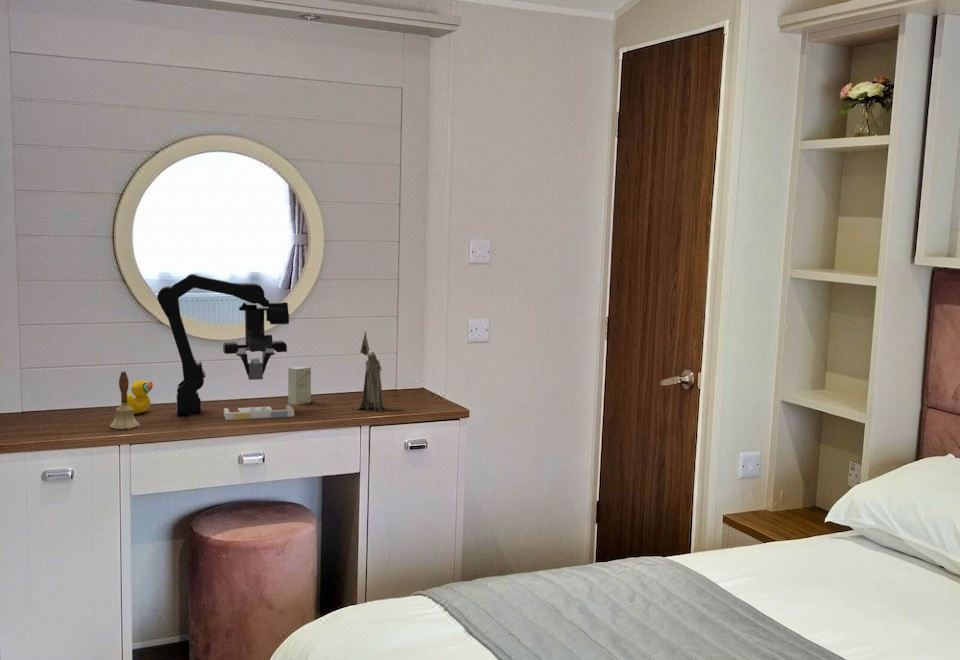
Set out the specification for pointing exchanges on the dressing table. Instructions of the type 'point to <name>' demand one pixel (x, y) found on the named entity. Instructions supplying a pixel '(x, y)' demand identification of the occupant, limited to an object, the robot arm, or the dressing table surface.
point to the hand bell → (124, 407)
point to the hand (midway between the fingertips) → (255, 374)
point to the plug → (255, 370)
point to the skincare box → (299, 385)
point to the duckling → (139, 396)
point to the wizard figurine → (371, 380)
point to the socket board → (259, 413)
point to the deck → (254, 407)
